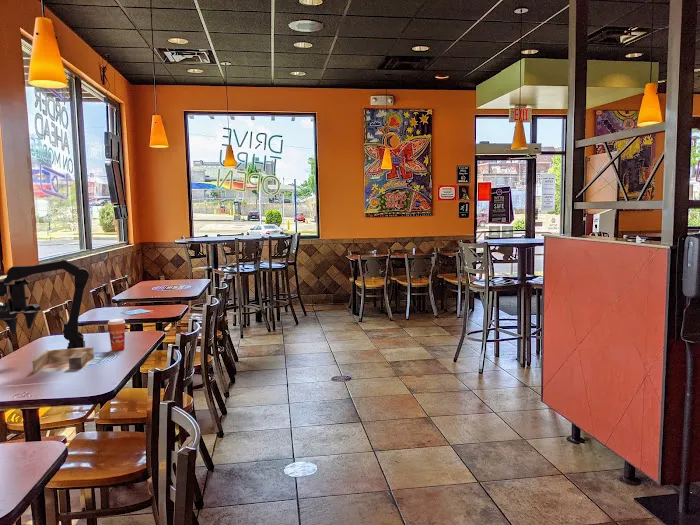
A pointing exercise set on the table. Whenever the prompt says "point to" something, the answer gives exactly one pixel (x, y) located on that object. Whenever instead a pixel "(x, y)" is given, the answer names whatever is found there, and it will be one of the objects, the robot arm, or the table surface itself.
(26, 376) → the table surface
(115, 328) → the paper cup
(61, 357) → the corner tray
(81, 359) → the walnut block
